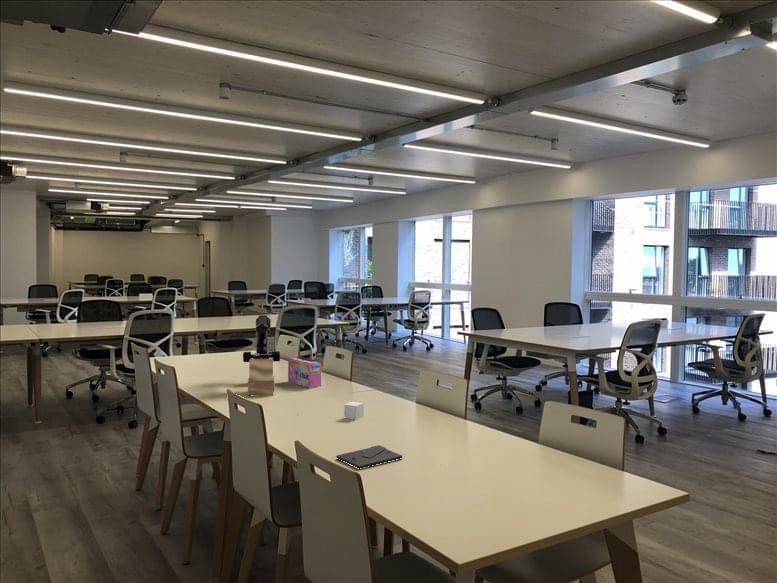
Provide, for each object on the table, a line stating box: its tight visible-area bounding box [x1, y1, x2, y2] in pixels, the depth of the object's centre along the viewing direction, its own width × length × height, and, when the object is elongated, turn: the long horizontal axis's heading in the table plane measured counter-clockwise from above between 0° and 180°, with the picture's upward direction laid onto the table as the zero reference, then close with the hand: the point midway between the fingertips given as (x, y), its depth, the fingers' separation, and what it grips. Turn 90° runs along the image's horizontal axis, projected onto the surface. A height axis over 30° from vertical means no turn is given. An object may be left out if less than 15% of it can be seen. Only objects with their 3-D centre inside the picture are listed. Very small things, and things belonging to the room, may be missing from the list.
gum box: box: [287, 356, 322, 388], centre depth 326 cm, size 24×8×14 cm, turn 40°
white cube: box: [343, 401, 365, 420], centre depth 254 cm, size 6×6×6 cm
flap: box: [248, 358, 274, 381], centre depth 298 cm, size 12×12×1 cm
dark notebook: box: [335, 444, 403, 469], centre depth 200 cm, size 13×2×18 cm
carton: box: [247, 375, 276, 397], centre depth 302 cm, size 12×13×8 cm
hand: (261, 369), depth 301 cm, fingers closed
